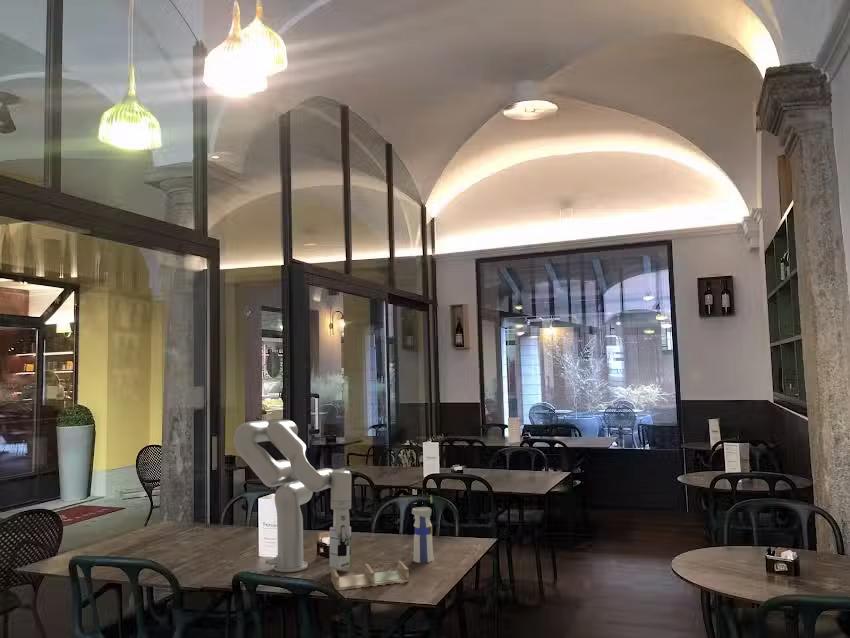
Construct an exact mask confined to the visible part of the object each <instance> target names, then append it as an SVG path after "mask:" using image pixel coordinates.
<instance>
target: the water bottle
mask: <svg viewBox="0 0 850 638" xmlns="http://www.w3.org/2000/svg"><path fill="white" fill-rule="evenodd" d="M429 500H430V503H431V504H432V503H434V501H433V496H432V495H430V497H429ZM411 509H412V510H411V514H412V515H414V523H413V527H414V535H413V562H414V563H417V564H419V563H420V564H421V563H422V564H425V563H426V562H427V563H432V562H434V550H433V549H434V548H433V524H432V523H431V520H430V519H431V516H432V508H431V507H428V506H420V507H413V508H411ZM431 561H432V562H431ZM427 563H426V564H427Z"/></svg>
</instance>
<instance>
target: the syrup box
mask: <svg viewBox="0 0 850 638" xmlns="http://www.w3.org/2000/svg"><path fill="white" fill-rule="evenodd" d="M339 536H342V534H341V532H340V534H339ZM340 539H342V538H340ZM346 544H347V555H346V556H338V545H339V543H338V537H336V533H335V527H333V526H330V527H329V567H330V568H331V567H334V568H335V570H336V569H337V570H343V569H346V568H348V567H351V566H352V526H350V536H349V537H347V535H346Z"/></svg>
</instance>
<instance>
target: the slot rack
mask: <svg viewBox="0 0 850 638" xmlns="http://www.w3.org/2000/svg"><path fill="white" fill-rule="evenodd" d="M330 569H331V572H330V573H331V583H332V582H333V583H332V584H334V585H333V586H334V589H335V590H338V591H346V589H347V590H355V589H354V588H356V589H362V588H361V587H364V588H370V587H369V586H373V587H378V586H377V585H382V586H387V585H386V584H391V585H395V584H394V583H400V584H405V583H404V582H408V583H410V572H409V571H410V569H409V567H407V565H405V564H404V562H403V561H402V560H401V559H400V560H397V570H392V571H390V570H389V571H382V572H381V571H380V572H375V571H374V570H373V569H372V567H371V566H370V564H369V563H365V564H364V570H365V571H364V572H365V573H364V574H353V575H346V576H340V575H339V574H338V572H337V570H336V568H334V567H330Z"/></svg>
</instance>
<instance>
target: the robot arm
mask: <svg viewBox="0 0 850 638" xmlns="http://www.w3.org/2000/svg"><path fill="white" fill-rule="evenodd" d="M298 433H299V428H298V425H297V424H296V423H295V422H294V421H292V420H290V419H262V420H255V421H253V420H252V421H251V420H250V421H247V422H244V423H242V424H240V425H239V426H237V428H236V429H235V432H234V435H233V446H234V448H235V450H236V452H237V454H238V455H239V457H240V458H241V459H243V461H244V462H245V463H246V464H247V465H248V467H249V468H250V469H251V470H252V472H253V473H255V475H256V476H257V477H258V478H259V480H260V481H261V482H262V483H263V485H265V486H266V487H269V488H275V487H278V486H279V487H278V488H277V489H276V492H275V494H274V504H275V511H276V522H277V523H276V529H277V536H276V537H277V555H275V556H276V557H273V558H265V559H264V562H265V563H264V564H265V565H269V566H272V565H273V570H274V571H275V572H278V571H279V572H278V573H294V572H300V571H303V570H305V569H307V568H308V562H307V561H304V523H303V522H304V518H303V513H302V510H301V505H304V504H306V503H308V502H309V501H310V500H311V499H312V497H313V494H314V493H315V492H316V493H317V492H321V491H324V490H326V489H329V488H330V510H333V516H332V517H333V523H332V524H333V525H332V527H335V533H336V537H338V543H339V545H338V556H346V555H347V544H346V535H347V537H349V536H350V509H352V472H351V471H350V470H348V469H333V468H330V467H329V468H328V467H326V468H325V467H324V468H320V469H317V470H316V469H315V467H313V466H312V465H311V464H310V462H309V461H308V459H307V457H306V451H307V445H306V443H305V442H304V441H303V440H302V439H301V438H300V437H299V436H298ZM261 442H271V444H273V446H274V447H276V448H277V450H278V451H280V453H281V454H282V455H283V456H284V457H285V458H286V459H279V460H276V459H274V458H273V457H272V456H271V455H270V453H269V452H268V451H267V450H266V449H265V448H264V447H262V446H261V445H260V444H259V443H261ZM340 532H341V534H342V536H339V534H340ZM340 538H342V539H340Z"/></svg>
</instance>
